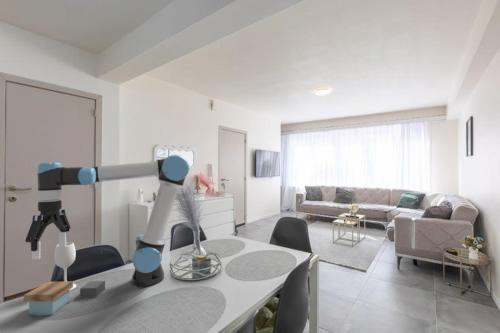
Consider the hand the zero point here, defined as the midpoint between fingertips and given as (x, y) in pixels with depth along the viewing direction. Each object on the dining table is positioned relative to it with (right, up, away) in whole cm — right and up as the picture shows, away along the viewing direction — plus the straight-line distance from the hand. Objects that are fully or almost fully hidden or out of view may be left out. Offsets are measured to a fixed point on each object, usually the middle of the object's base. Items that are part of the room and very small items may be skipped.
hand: (50, 252), depth 100 cm
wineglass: (-6, -23, +17) cm, 29 cm away
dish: (0, -23, 0) cm, 23 cm away
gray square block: (+10, -23, +12) cm, 27 cm away
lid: (0, -17, 0) cm, 17 cm away
